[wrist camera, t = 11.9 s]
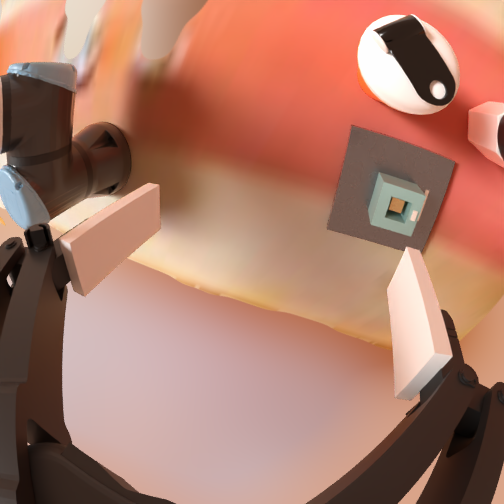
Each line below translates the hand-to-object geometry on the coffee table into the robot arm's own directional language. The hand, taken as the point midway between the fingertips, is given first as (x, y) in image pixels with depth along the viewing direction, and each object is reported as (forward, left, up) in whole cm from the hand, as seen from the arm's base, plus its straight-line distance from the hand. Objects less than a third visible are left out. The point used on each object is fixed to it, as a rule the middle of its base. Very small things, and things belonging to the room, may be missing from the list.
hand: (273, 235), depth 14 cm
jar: (+25, +11, -29) cm, 40 cm away
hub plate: (+12, -4, -29) cm, 31 cm away
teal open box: (+12, -4, -27) cm, 30 cm away
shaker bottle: (+7, +12, -29) cm, 32 cm away
